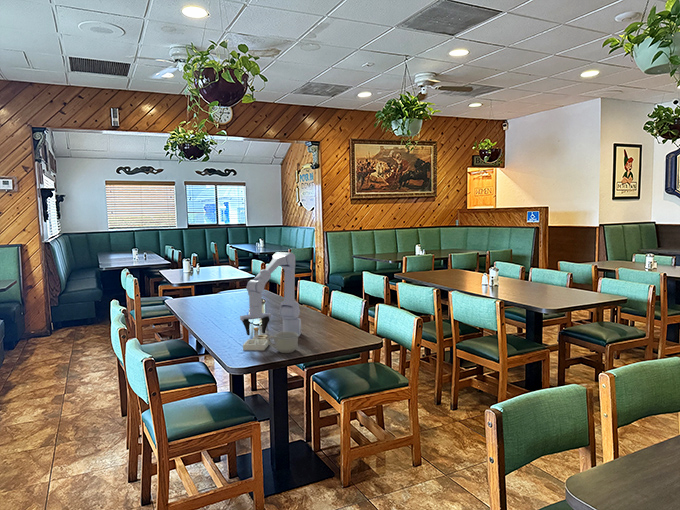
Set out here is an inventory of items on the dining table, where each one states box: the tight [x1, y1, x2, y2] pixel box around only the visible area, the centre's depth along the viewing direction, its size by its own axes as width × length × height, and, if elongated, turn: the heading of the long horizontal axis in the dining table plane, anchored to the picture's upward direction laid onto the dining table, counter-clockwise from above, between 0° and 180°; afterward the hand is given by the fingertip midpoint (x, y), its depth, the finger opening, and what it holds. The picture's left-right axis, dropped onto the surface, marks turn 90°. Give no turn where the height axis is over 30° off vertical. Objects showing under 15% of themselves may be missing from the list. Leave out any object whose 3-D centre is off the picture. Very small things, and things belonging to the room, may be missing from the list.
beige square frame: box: [252, 334, 269, 339], centre depth 229 cm, size 6×6×3 cm
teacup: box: [267, 331, 299, 354], centre depth 214 cm, size 14×11×8 cm
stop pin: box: [253, 326, 260, 345], centre depth 221 cm, size 2×2×9 cm
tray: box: [242, 338, 270, 351], centre depth 221 cm, size 10×10×2 cm
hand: (256, 333), depth 221 cm, fingers open, 7 cm apart
